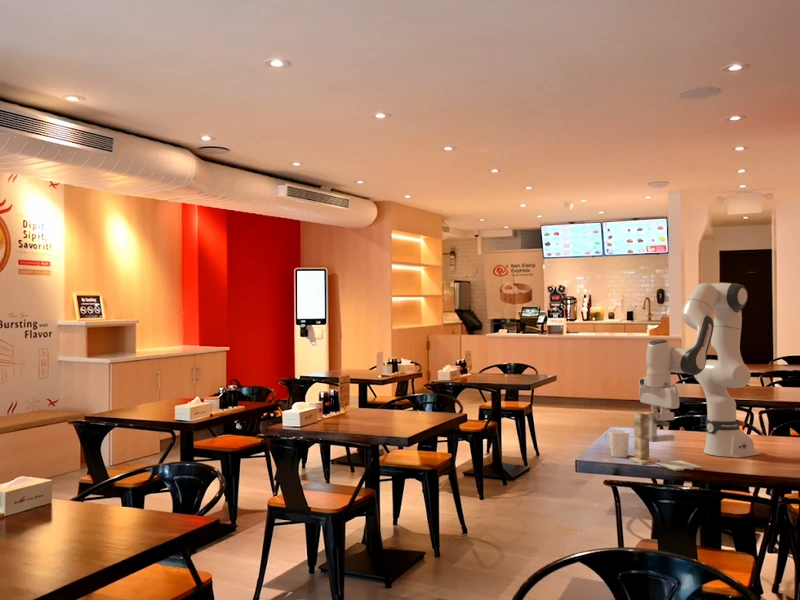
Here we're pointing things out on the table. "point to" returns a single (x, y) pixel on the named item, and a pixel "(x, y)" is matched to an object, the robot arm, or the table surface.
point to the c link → (653, 427)
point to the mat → (678, 465)
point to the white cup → (619, 443)
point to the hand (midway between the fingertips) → (659, 417)
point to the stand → (643, 438)
